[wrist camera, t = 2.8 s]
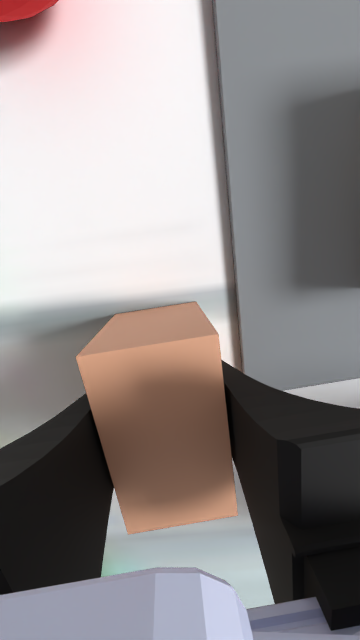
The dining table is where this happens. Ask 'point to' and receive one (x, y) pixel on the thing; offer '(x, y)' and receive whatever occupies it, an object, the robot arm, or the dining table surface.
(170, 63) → the dining table surface
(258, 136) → the build plate
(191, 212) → the dining table surface
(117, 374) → the terracotta brick
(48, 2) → the toy figure
